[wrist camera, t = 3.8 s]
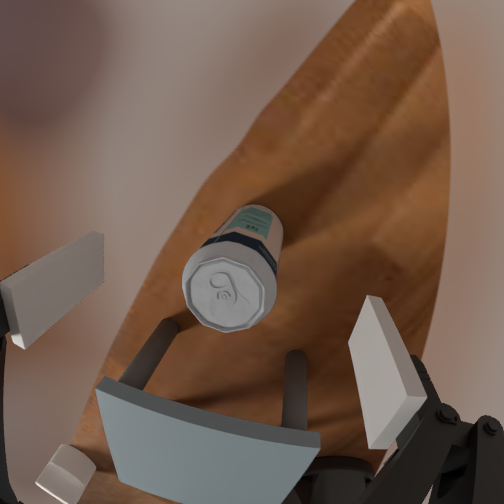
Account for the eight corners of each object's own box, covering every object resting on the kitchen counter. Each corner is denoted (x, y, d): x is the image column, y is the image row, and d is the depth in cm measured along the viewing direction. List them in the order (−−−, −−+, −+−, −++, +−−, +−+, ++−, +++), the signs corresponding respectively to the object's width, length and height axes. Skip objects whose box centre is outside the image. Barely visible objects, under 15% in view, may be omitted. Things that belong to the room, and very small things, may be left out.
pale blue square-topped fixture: (315, 349, 28) (320, 448, 17) (275, 442, 34) (266, 520, 22) (156, 310, 29) (95, 388, 18) (155, 411, 35) (119, 481, 23)
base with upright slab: (98, 462, 44) (74, 504, 33) (94, 474, 47) (73, 511, 36) (60, 438, 44) (33, 477, 32) (60, 452, 47) (37, 487, 35)
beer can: (236, 265, 27) (197, 346, 15) (218, 212, 25) (160, 263, 14) (290, 251, 26) (287, 329, 14) (273, 196, 24) (257, 235, 13)
